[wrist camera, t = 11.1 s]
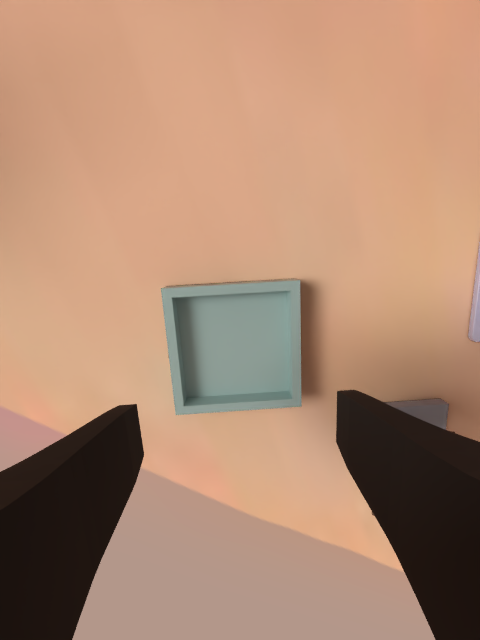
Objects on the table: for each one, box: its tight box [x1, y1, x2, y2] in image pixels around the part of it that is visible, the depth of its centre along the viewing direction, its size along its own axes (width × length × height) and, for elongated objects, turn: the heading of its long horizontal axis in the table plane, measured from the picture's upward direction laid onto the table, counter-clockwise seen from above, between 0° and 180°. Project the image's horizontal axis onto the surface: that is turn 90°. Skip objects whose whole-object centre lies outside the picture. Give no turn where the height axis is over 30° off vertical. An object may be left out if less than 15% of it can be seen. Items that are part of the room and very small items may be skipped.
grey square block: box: [384, 399, 449, 430], centre depth 19 cm, size 6×6×4 cm
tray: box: [161, 279, 301, 415], centre depth 18 cm, size 9×9×2 cm
